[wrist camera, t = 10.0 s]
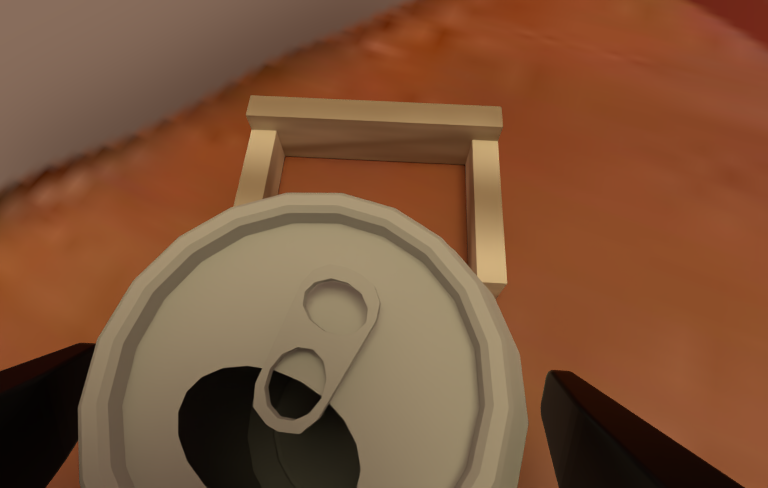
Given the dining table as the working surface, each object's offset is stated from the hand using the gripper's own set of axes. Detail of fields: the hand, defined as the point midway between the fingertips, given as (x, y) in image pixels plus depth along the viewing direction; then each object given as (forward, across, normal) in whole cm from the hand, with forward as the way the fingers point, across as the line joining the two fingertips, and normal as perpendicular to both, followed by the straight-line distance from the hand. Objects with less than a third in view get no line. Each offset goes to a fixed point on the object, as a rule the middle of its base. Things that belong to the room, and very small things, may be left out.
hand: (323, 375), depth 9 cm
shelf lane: (+13, 0, +1) cm, 13 cm away
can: (+6, 0, +7) cm, 9 cm away
